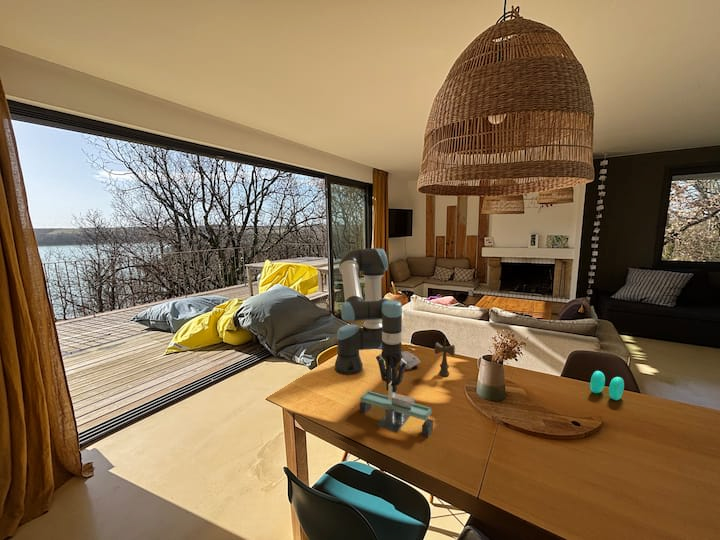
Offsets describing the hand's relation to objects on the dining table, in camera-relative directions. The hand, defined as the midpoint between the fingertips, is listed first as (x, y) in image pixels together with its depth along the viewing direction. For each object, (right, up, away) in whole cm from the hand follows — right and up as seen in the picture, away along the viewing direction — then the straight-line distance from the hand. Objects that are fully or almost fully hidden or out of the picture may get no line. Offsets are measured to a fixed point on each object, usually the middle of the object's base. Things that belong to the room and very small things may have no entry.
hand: (391, 398), depth 118 cm
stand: (+1, -9, +1) cm, 9 cm away
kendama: (+31, -3, +37) cm, 48 cm away
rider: (+4, -2, -2) cm, 5 cm away
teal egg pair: (+97, -6, +16) cm, 98 cm away
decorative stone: (+15, -2, +48) cm, 51 cm away
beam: (+1, -2, 0) cm, 3 cm away
